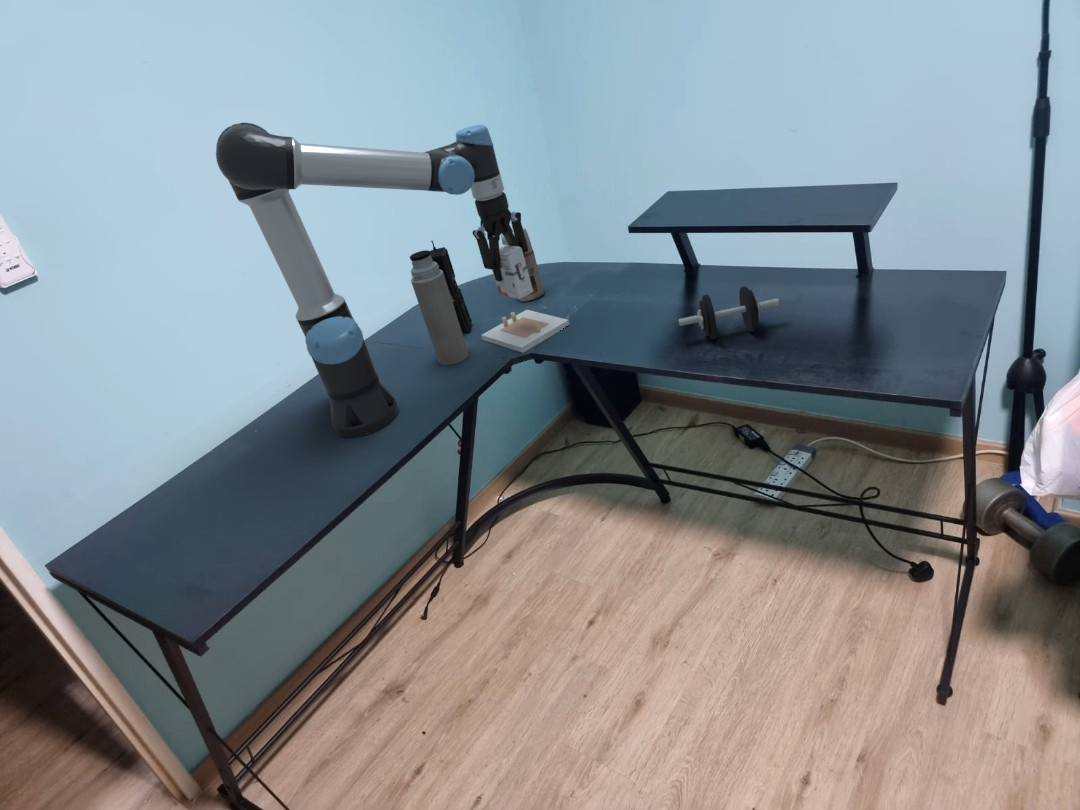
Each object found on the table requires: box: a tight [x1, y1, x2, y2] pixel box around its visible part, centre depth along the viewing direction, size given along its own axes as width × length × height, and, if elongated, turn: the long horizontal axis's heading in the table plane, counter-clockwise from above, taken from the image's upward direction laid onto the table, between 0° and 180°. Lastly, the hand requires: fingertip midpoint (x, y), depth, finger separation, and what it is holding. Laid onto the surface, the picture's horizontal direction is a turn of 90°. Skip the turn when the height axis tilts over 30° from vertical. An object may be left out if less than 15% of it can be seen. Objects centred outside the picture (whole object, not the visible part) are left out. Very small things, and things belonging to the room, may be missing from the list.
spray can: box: [500, 227, 545, 302], centre depth 200 cm, size 8×8×20 cm
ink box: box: [492, 244, 533, 300], centre depth 175 cm, size 9×5×12 cm, turn 42°
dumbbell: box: [677, 285, 780, 340], centre depth 155 cm, size 22×10×10 cm, turn 89°
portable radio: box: [429, 240, 473, 335], centre depth 188 cm, size 8×6×25 cm
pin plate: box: [481, 309, 570, 354], centre depth 182 cm, size 16×17×4 cm
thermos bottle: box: [409, 249, 469, 366], centre depth 174 cm, size 8×8×28 cm
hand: (514, 287), depth 177 cm, fingers closed on ink box, 5 cm apart
